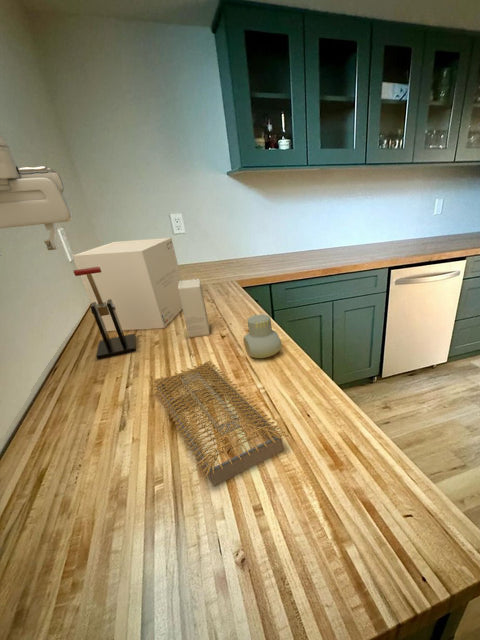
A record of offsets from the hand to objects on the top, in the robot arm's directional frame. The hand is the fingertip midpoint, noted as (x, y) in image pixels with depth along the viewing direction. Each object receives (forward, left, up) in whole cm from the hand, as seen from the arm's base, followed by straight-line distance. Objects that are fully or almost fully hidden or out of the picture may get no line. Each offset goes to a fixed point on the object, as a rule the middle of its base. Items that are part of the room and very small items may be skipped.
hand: (25, 252), depth 65 cm
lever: (+2, +21, -14) cm, 25 cm away
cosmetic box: (+26, +26, -31) cm, 48 cm away
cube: (+7, +49, -31) cm, 59 cm away
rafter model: (+29, -22, -31) cm, 48 cm away
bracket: (+2, +23, -31) cm, 39 cm away
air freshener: (+43, +3, -31) cm, 53 cm away
